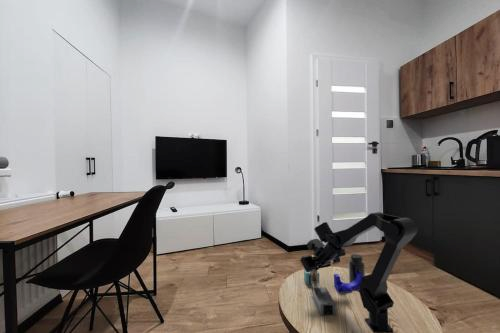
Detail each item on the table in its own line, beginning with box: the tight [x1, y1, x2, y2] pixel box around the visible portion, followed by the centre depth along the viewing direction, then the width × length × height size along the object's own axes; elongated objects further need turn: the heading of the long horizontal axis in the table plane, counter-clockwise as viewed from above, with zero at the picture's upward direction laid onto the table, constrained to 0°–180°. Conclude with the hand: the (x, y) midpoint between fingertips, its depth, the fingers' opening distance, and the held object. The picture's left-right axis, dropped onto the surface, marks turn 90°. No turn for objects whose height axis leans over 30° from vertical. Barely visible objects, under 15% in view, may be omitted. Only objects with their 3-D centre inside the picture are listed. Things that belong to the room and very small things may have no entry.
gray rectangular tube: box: [312, 287, 337, 317], centre depth 94 cm, size 12×5×4 cm, turn 178°
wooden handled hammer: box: [309, 254, 322, 289], centre depth 106 cm, size 18×3×13 cm, turn 178°
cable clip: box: [333, 273, 363, 293], centre depth 107 cm, size 12×4×6 cm, turn 92°
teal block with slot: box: [303, 268, 320, 285], centre depth 115 cm, size 5×6×5 cm
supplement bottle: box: [348, 253, 366, 283], centre depth 114 cm, size 7×7×12 cm
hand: (311, 268), depth 111 cm, fingers closed on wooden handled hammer, 3 cm apart
